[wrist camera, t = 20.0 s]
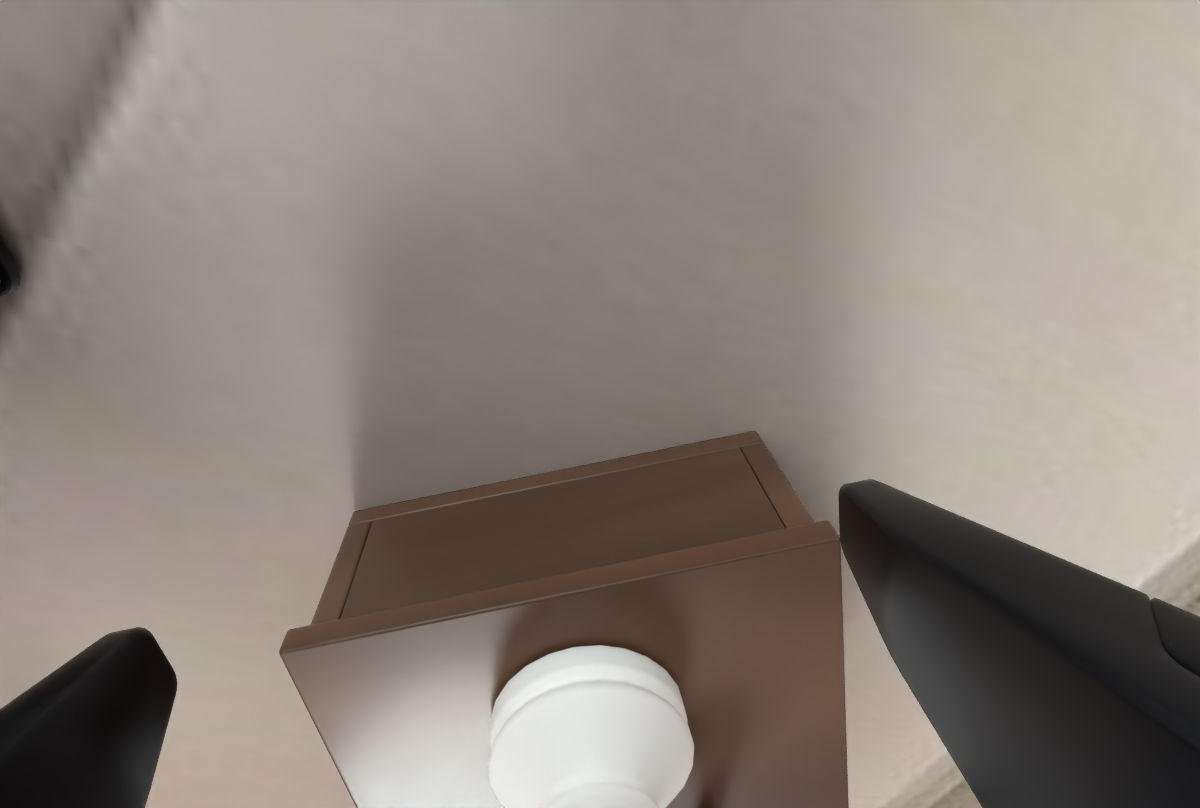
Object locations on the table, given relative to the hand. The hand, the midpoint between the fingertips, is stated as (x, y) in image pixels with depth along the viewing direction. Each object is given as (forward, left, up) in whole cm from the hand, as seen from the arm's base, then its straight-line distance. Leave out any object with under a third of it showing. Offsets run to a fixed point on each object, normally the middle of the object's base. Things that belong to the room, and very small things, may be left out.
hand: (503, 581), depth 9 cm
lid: (+14, 0, -7) cm, 15 cm away
